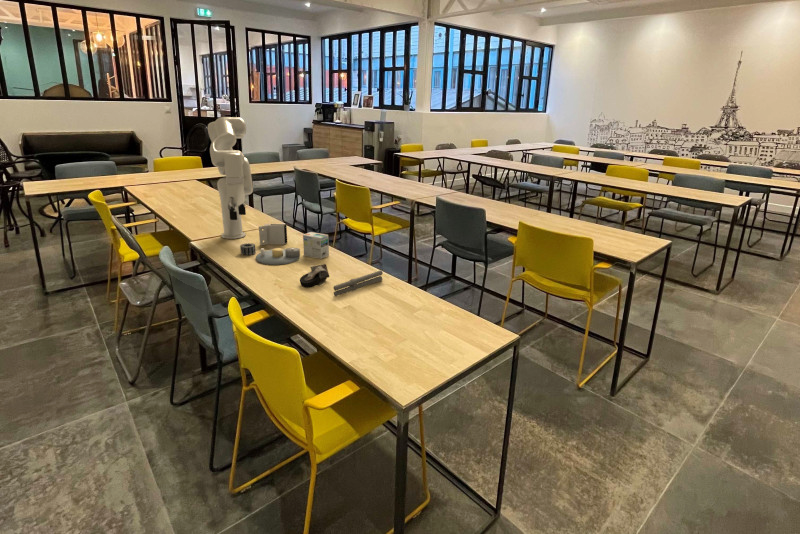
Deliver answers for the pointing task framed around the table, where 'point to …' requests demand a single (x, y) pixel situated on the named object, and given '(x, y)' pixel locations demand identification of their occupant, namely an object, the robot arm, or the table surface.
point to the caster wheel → (315, 276)
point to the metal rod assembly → (355, 286)
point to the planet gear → (247, 249)
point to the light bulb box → (316, 245)
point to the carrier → (278, 256)
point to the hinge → (273, 234)
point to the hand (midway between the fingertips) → (238, 217)
